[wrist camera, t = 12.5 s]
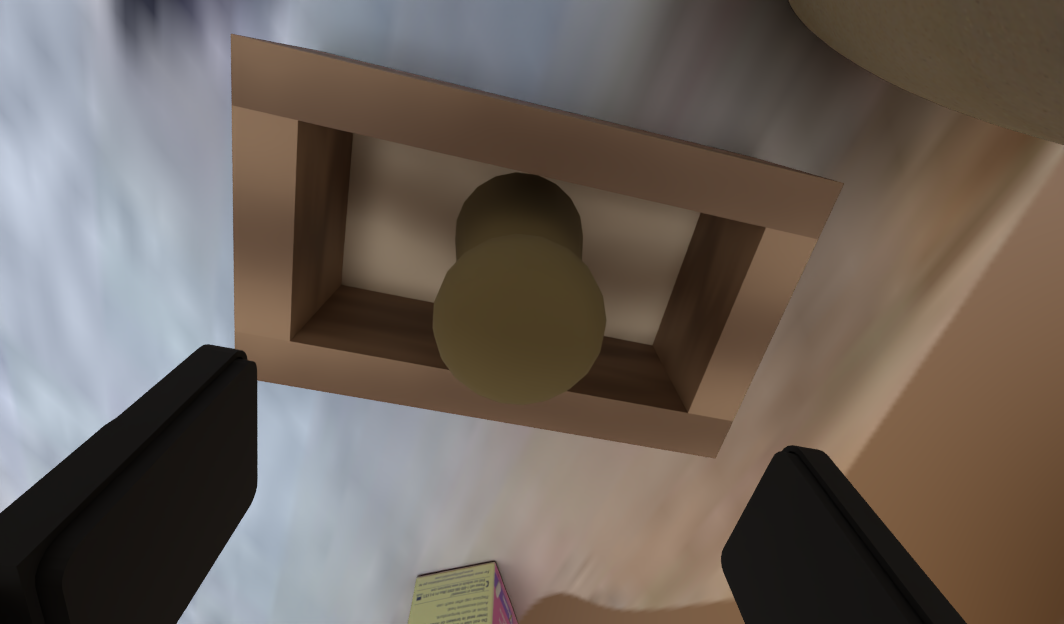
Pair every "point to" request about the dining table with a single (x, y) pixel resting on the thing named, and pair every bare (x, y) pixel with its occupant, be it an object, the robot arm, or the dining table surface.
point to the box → (462, 597)
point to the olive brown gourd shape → (519, 294)
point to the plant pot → (958, 53)
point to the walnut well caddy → (429, 246)
